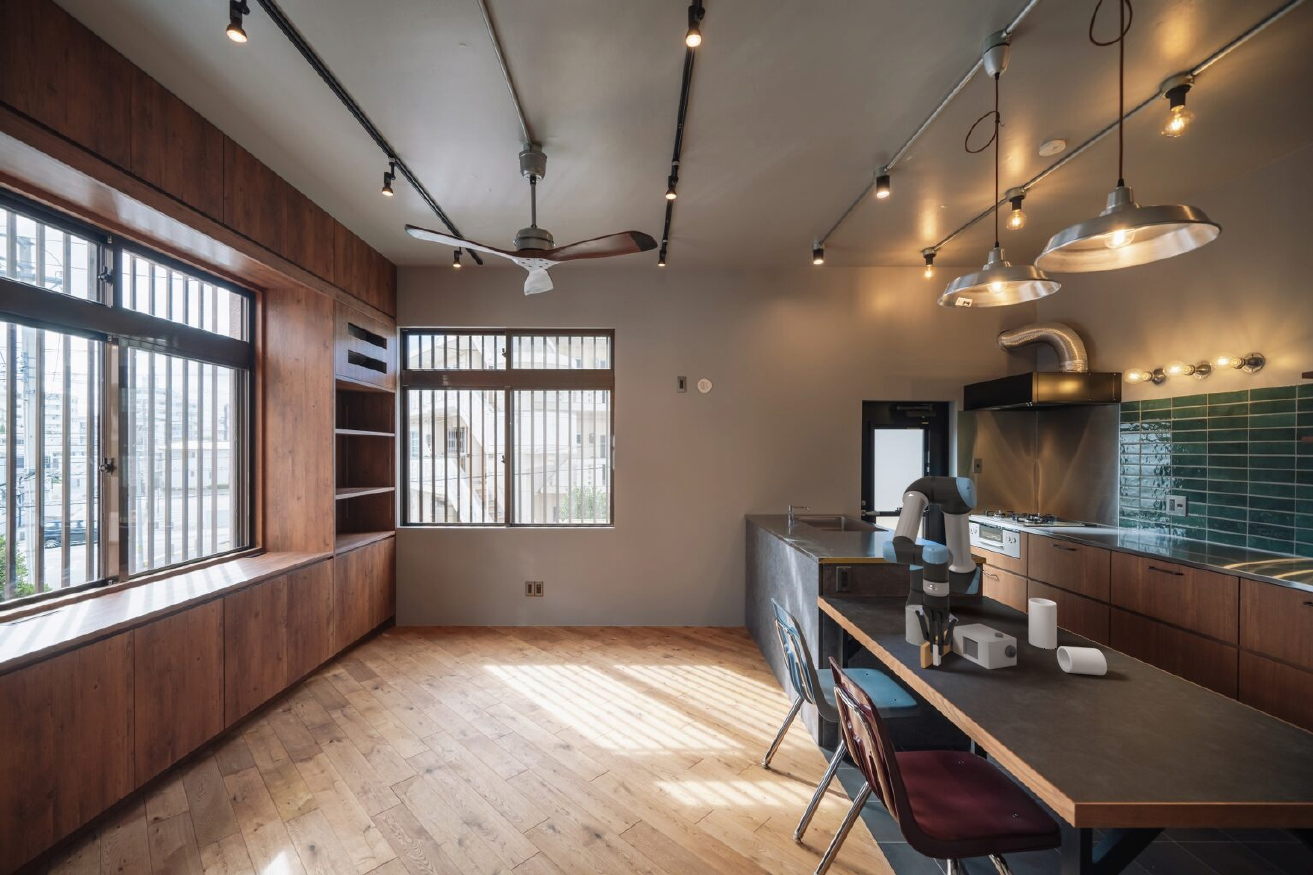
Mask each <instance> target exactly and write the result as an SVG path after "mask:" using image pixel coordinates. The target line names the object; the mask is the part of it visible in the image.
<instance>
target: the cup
mask: <svg viewBox="0 0 1313 875" xmlns="http://www.w3.org/2000/svg"><path fill="white" fill-rule="evenodd" d="M1057 605H1058V604H1057V603H1056V602H1055V601H1054V600H1050V599H1047V598H1040V597H1030V598H1028V643H1029V644H1030V645H1031V646H1035V647H1037V648H1040V649H1044V648H1045V649H1047V650H1055V648H1056V649H1058V640H1057V639H1058V638H1057V637H1058V633H1057V632H1058V627H1057V626H1058V624H1057V622H1058V620H1057V618H1058V615H1057V614H1058V613H1057V612H1058V611H1057V610H1058V609H1057V608H1058V607H1057Z"/></svg>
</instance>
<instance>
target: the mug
mask: <svg viewBox="0 0 1313 875" xmlns="http://www.w3.org/2000/svg"><path fill="white" fill-rule="evenodd" d="M1056 657H1057V658H1056V659H1057V661H1058V664H1059V667H1060V668H1061V670H1062V671H1064V673H1068V674H1079V675H1081V674H1082V675H1090V676H1091V675H1094V676H1104V675H1106V673H1107V669H1108V664H1107V660H1106V657H1105V655H1104V654H1103V653H1102V652H1101V650H1099V649H1098V648H1095V647H1093V648H1092V647H1080V646H1066V645H1065V646H1064V645H1063V646H1062V645H1060V646H1059V647H1057V650H1056Z"/></svg>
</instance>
